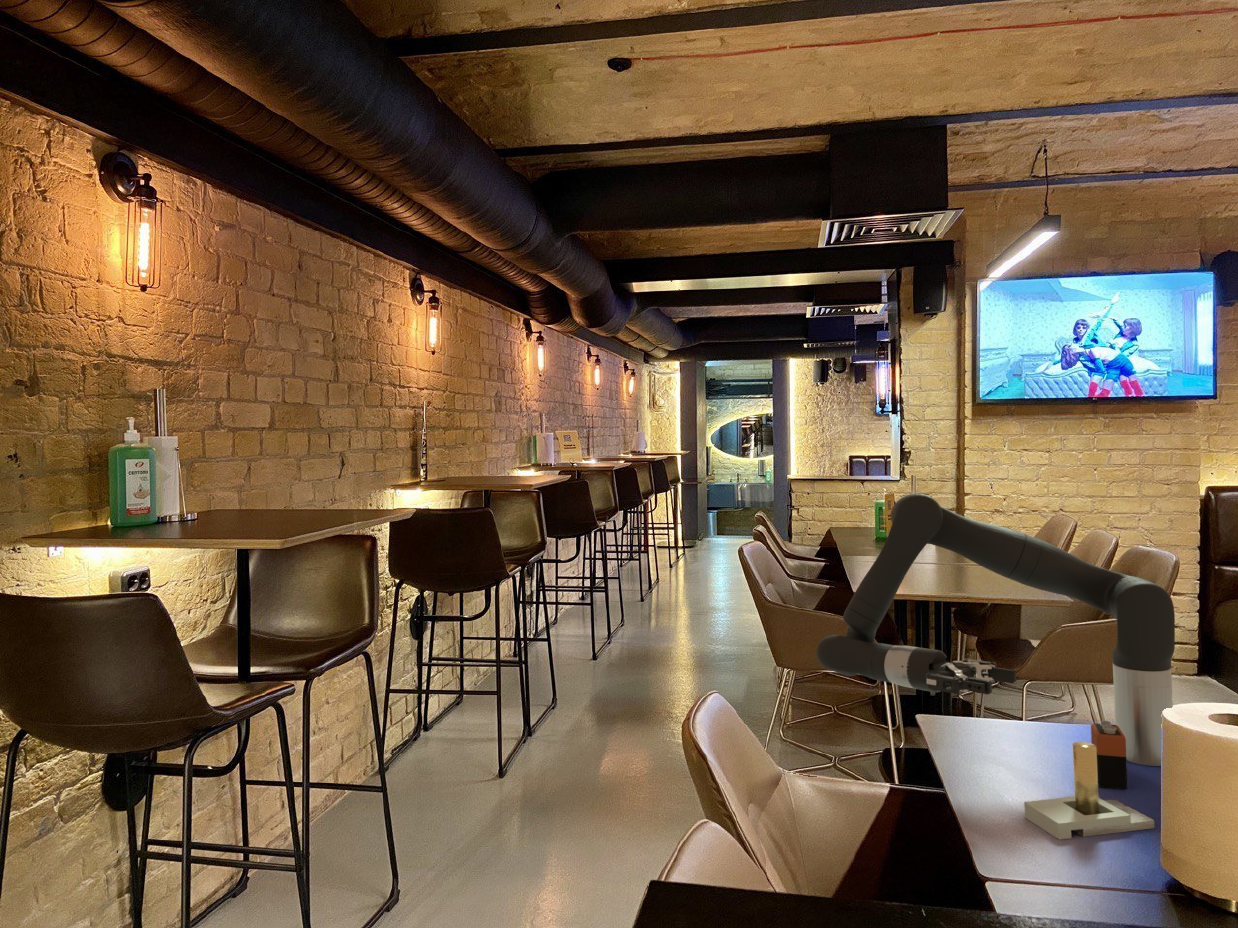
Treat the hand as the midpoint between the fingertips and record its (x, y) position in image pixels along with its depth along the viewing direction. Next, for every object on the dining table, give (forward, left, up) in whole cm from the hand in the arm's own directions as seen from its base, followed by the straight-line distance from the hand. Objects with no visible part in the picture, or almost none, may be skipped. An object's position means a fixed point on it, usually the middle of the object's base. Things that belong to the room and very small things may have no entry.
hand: (1003, 682), depth 139 cm
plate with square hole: (-3, +12, -19) cm, 23 cm away
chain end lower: (-7, +12, -19) cm, 24 cm away
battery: (-20, -1, -19) cm, 28 cm away
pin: (-5, +12, -19) cm, 23 cm away
